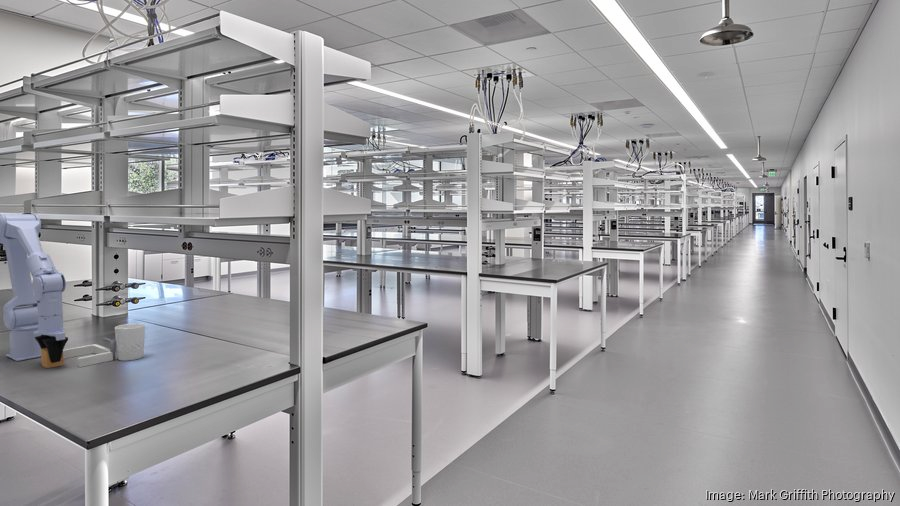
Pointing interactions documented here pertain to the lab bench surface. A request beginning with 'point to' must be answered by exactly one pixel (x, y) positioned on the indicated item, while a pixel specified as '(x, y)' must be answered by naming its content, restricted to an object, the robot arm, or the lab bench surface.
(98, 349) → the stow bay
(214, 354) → the lab bench surface
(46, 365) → the tan wooden cube
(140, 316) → the lab bench surface
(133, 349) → the white cup
